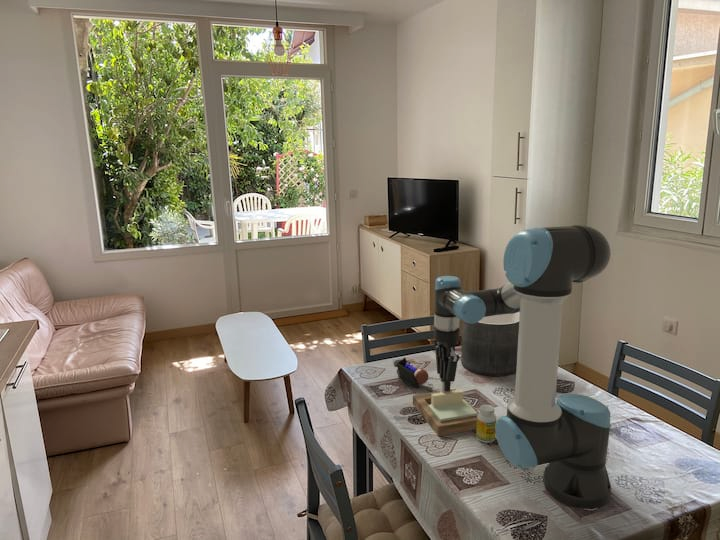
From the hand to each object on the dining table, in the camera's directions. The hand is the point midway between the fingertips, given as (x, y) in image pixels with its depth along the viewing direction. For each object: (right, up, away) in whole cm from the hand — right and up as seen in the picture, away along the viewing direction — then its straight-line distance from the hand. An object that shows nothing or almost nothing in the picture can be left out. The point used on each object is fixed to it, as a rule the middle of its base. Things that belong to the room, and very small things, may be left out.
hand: (445, 398), depth 160 cm
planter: (+23, +4, +36) cm, 43 cm away
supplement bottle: (+9, -8, -13) cm, 18 cm away
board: (+1, -5, 0) cm, 5 cm away
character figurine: (-9, 0, +23) cm, 24 cm away
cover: (+1, -3, -5) cm, 5 cm away
